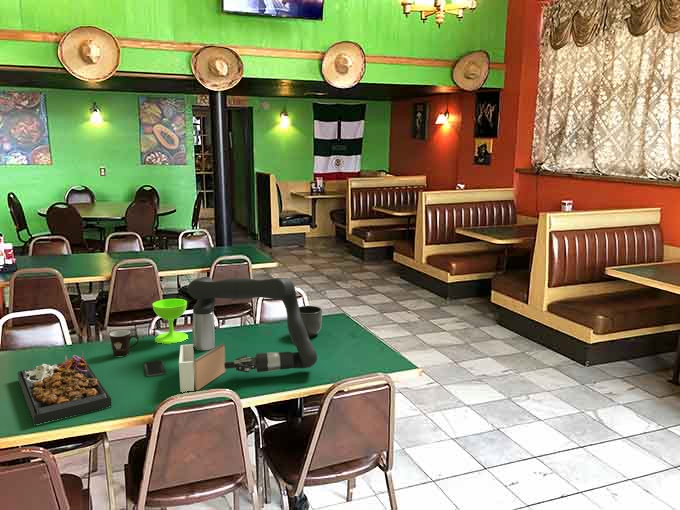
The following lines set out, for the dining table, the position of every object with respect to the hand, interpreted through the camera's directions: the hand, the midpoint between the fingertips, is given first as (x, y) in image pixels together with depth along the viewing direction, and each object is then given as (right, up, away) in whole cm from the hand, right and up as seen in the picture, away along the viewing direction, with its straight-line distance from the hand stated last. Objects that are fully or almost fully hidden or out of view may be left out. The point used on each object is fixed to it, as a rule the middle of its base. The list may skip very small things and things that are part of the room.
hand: (224, 365), depth 222 cm
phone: (-32, -4, +13) cm, 35 cm away
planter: (+30, +4, +57) cm, 64 cm away
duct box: (-15, -6, 0) cm, 16 cm away
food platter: (-59, -9, -11) cm, 61 cm away
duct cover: (-5, -6, +1) cm, 8 cm away
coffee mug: (-51, -1, +28) cm, 58 cm away
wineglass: (-36, +3, +49) cm, 61 cm away
